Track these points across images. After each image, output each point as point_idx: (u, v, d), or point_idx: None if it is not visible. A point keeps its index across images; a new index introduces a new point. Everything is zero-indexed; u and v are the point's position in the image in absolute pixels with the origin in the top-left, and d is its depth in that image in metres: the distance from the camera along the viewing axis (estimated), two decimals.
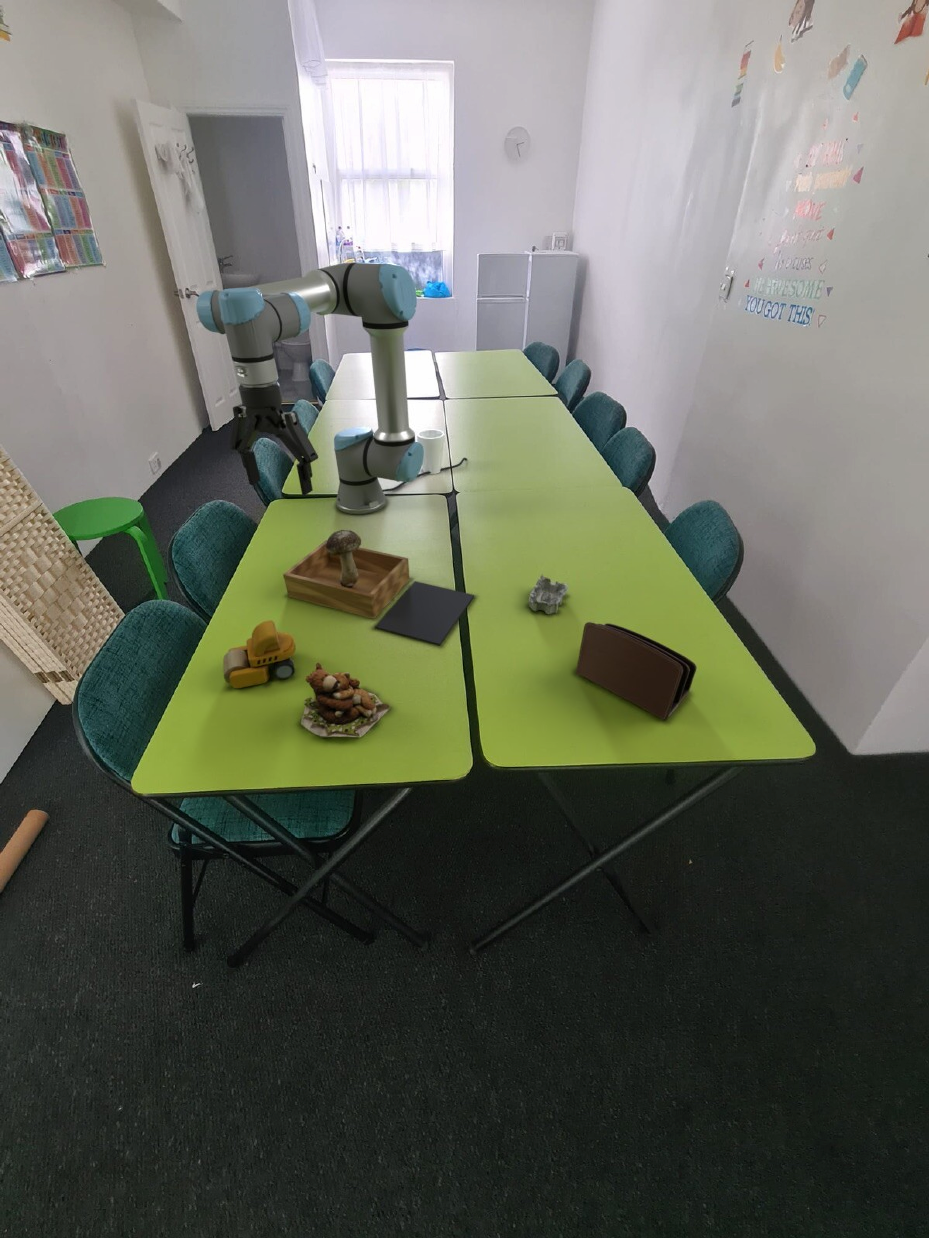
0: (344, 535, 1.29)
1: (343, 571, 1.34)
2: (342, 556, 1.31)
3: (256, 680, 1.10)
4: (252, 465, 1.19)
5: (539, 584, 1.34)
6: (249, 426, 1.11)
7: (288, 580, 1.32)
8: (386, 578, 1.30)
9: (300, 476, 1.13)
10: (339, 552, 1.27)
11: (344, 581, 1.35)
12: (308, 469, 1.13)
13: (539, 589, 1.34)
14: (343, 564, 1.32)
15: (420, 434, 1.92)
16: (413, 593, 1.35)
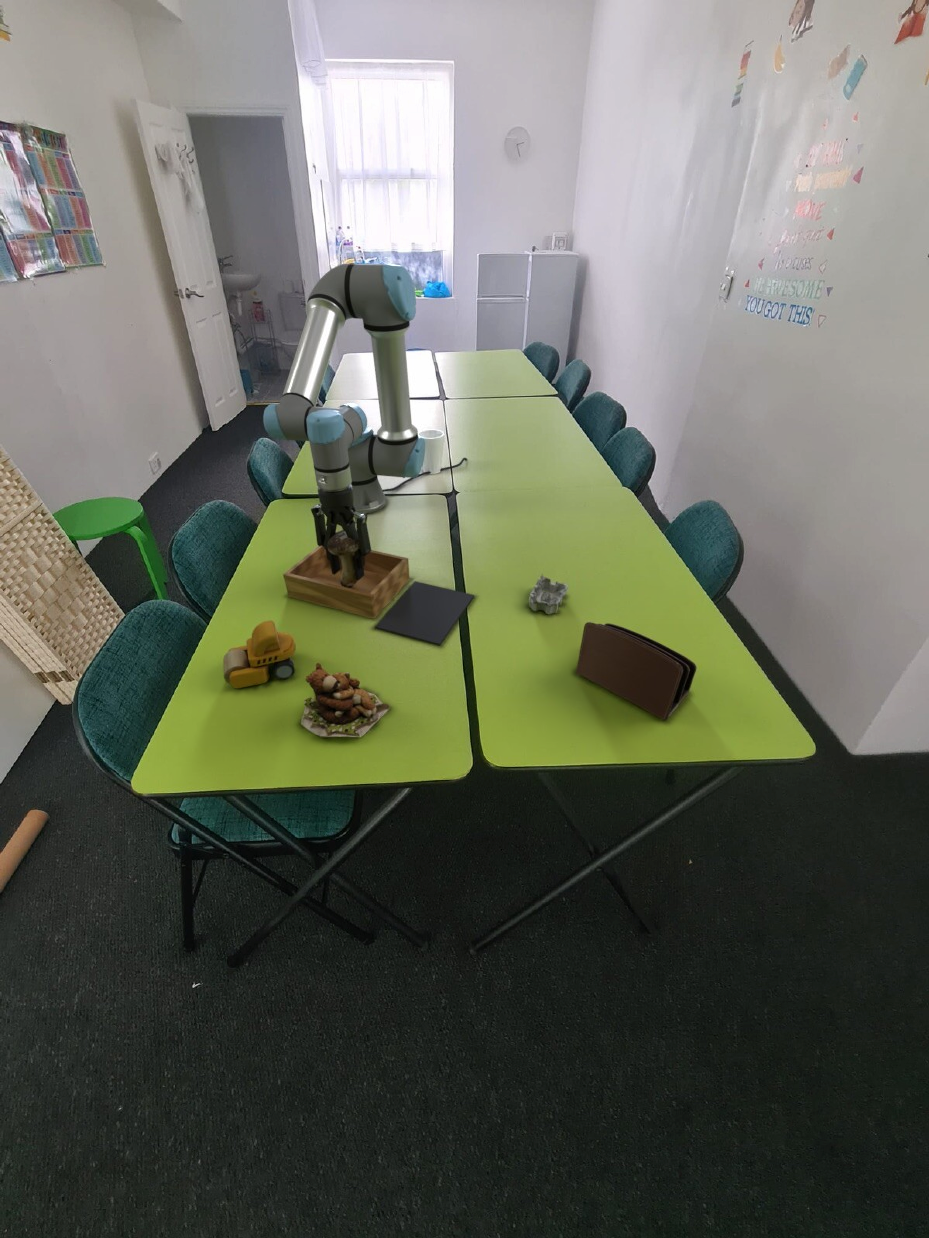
0: (346, 535, 1.28)
1: (344, 571, 1.34)
2: (343, 556, 1.31)
3: (256, 680, 1.10)
4: (335, 558, 1.35)
5: (539, 584, 1.34)
6: (327, 522, 1.27)
7: (288, 580, 1.32)
8: (386, 578, 1.30)
9: (355, 565, 1.32)
10: (341, 553, 1.27)
11: (345, 581, 1.35)
12: (362, 560, 1.31)
13: (539, 589, 1.34)
14: (344, 564, 1.32)
15: (420, 434, 1.92)
16: (413, 593, 1.35)
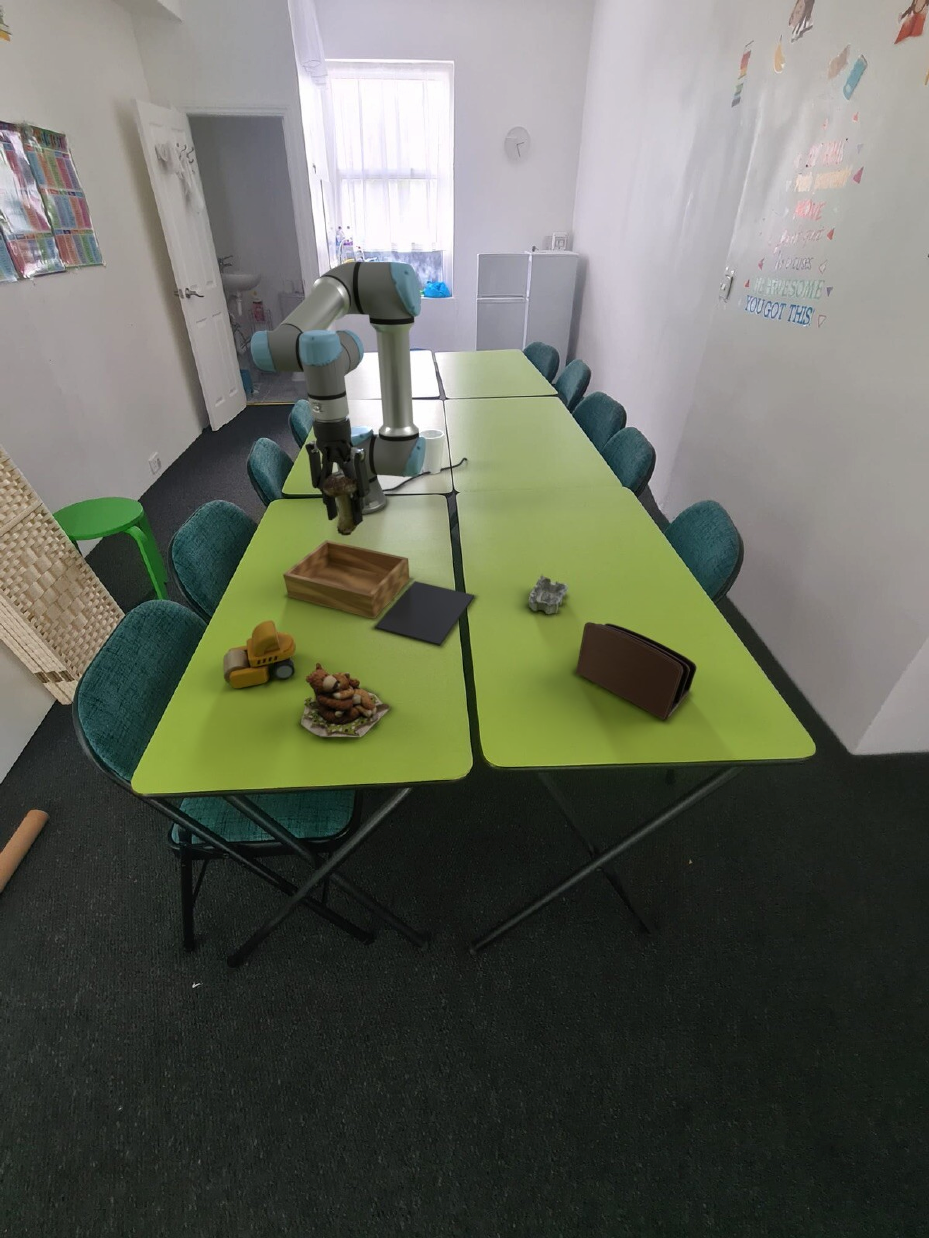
0: (343, 475, 1.19)
1: (341, 516, 1.24)
2: (340, 499, 1.21)
3: (256, 680, 1.10)
4: (332, 502, 1.25)
5: (539, 584, 1.34)
6: (322, 460, 1.17)
7: (288, 580, 1.32)
8: (386, 578, 1.30)
9: (353, 509, 1.22)
10: (337, 493, 1.17)
11: (342, 527, 1.26)
12: (360, 502, 1.22)
13: (539, 589, 1.34)
14: (341, 508, 1.23)
15: (420, 434, 1.92)
16: (413, 593, 1.35)
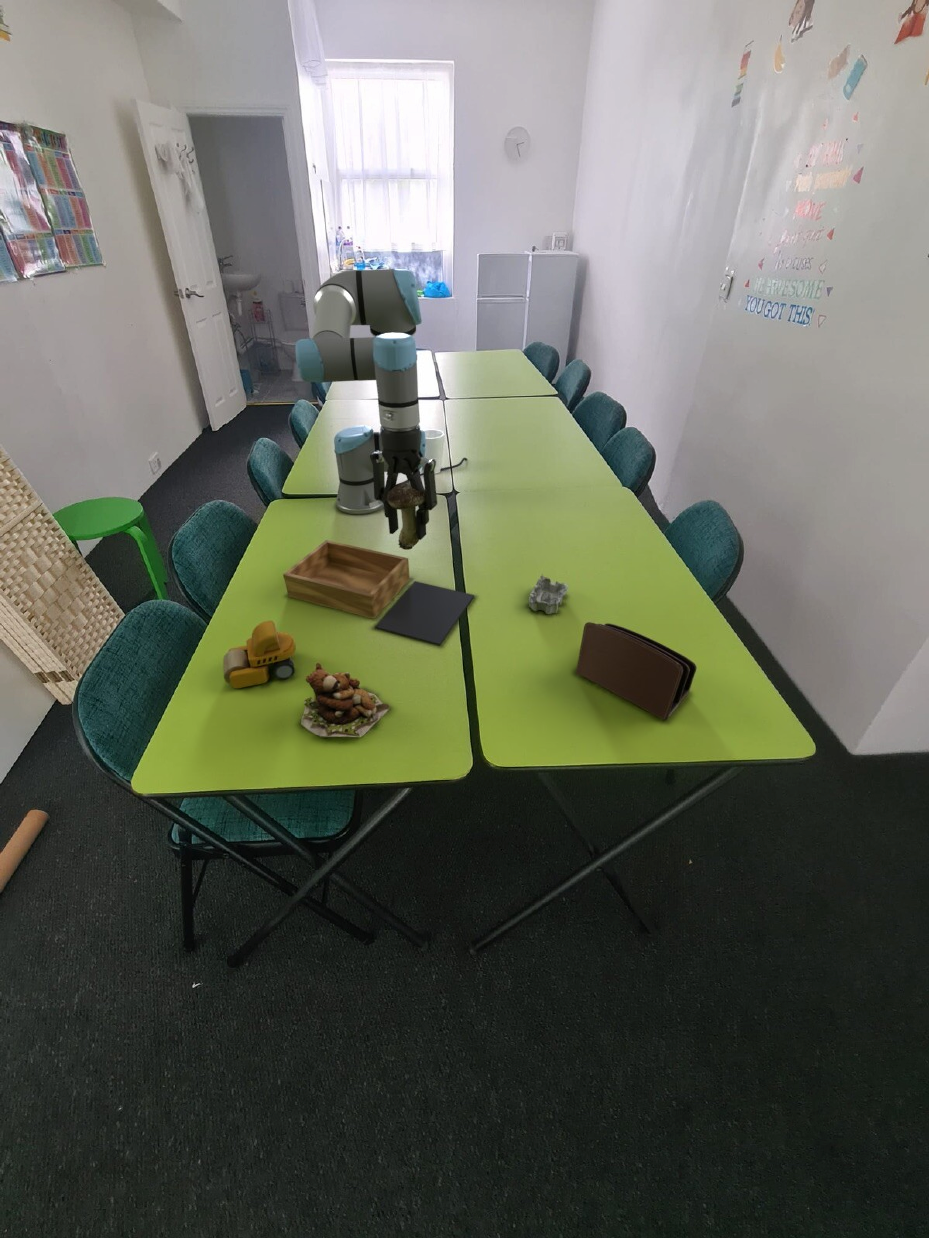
0: (410, 486, 1.12)
1: (404, 529, 1.17)
2: (405, 511, 1.14)
3: (256, 680, 1.10)
4: (394, 515, 1.18)
5: (539, 584, 1.34)
6: (388, 470, 1.10)
7: (288, 580, 1.32)
8: (386, 578, 1.30)
9: (418, 522, 1.15)
10: (404, 506, 1.10)
11: (404, 541, 1.19)
12: (426, 515, 1.15)
13: (539, 589, 1.34)
14: (405, 521, 1.16)
15: None
16: (413, 593, 1.35)
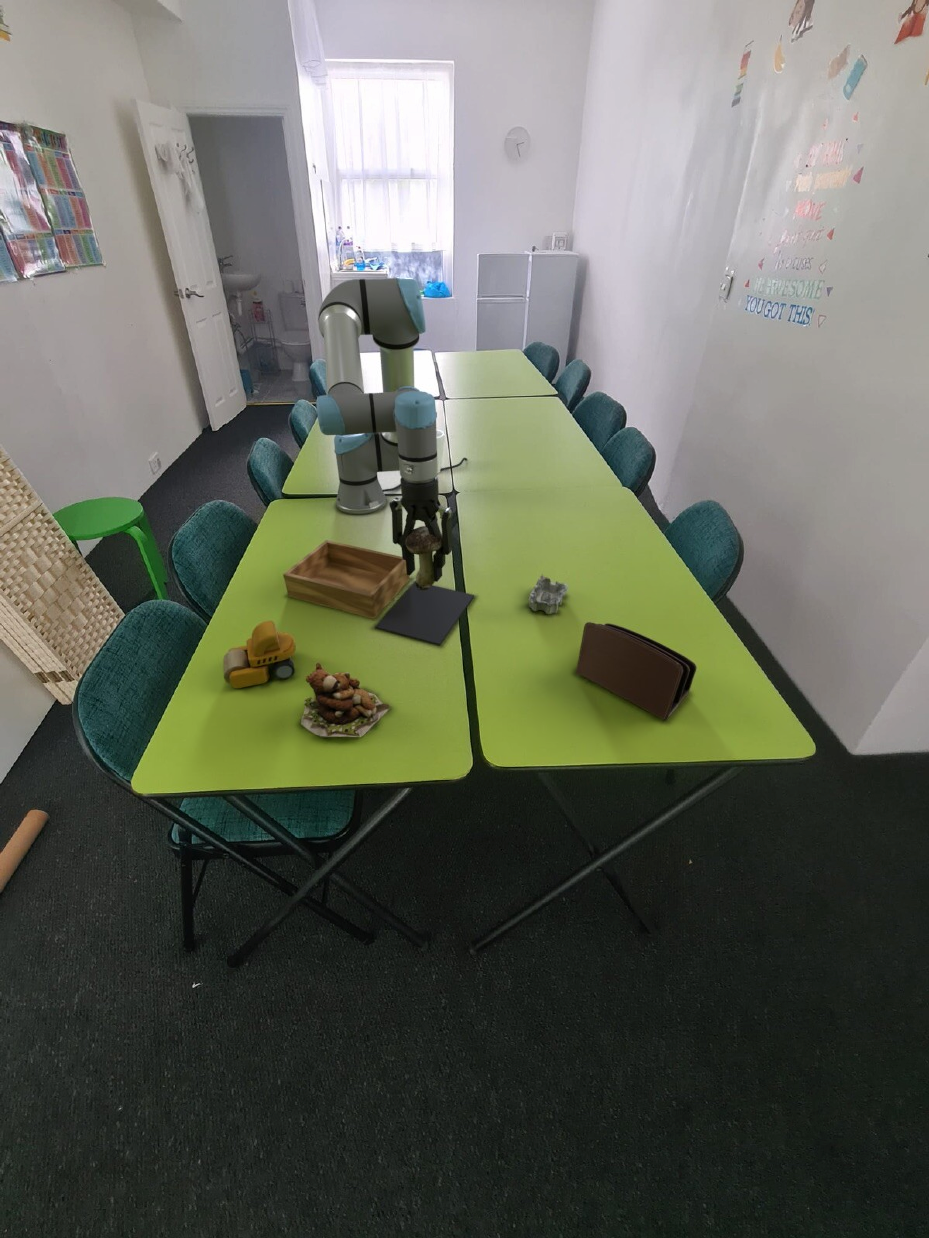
0: (427, 532, 1.16)
1: (421, 572, 1.22)
2: (422, 555, 1.19)
3: (256, 680, 1.10)
4: (411, 557, 1.23)
5: (539, 584, 1.34)
6: (407, 518, 1.15)
7: (288, 580, 1.32)
8: (386, 578, 1.30)
9: (435, 565, 1.20)
10: (422, 551, 1.15)
11: (421, 583, 1.23)
12: (443, 559, 1.19)
13: (539, 589, 1.34)
14: (422, 564, 1.20)
15: None
16: (413, 593, 1.35)
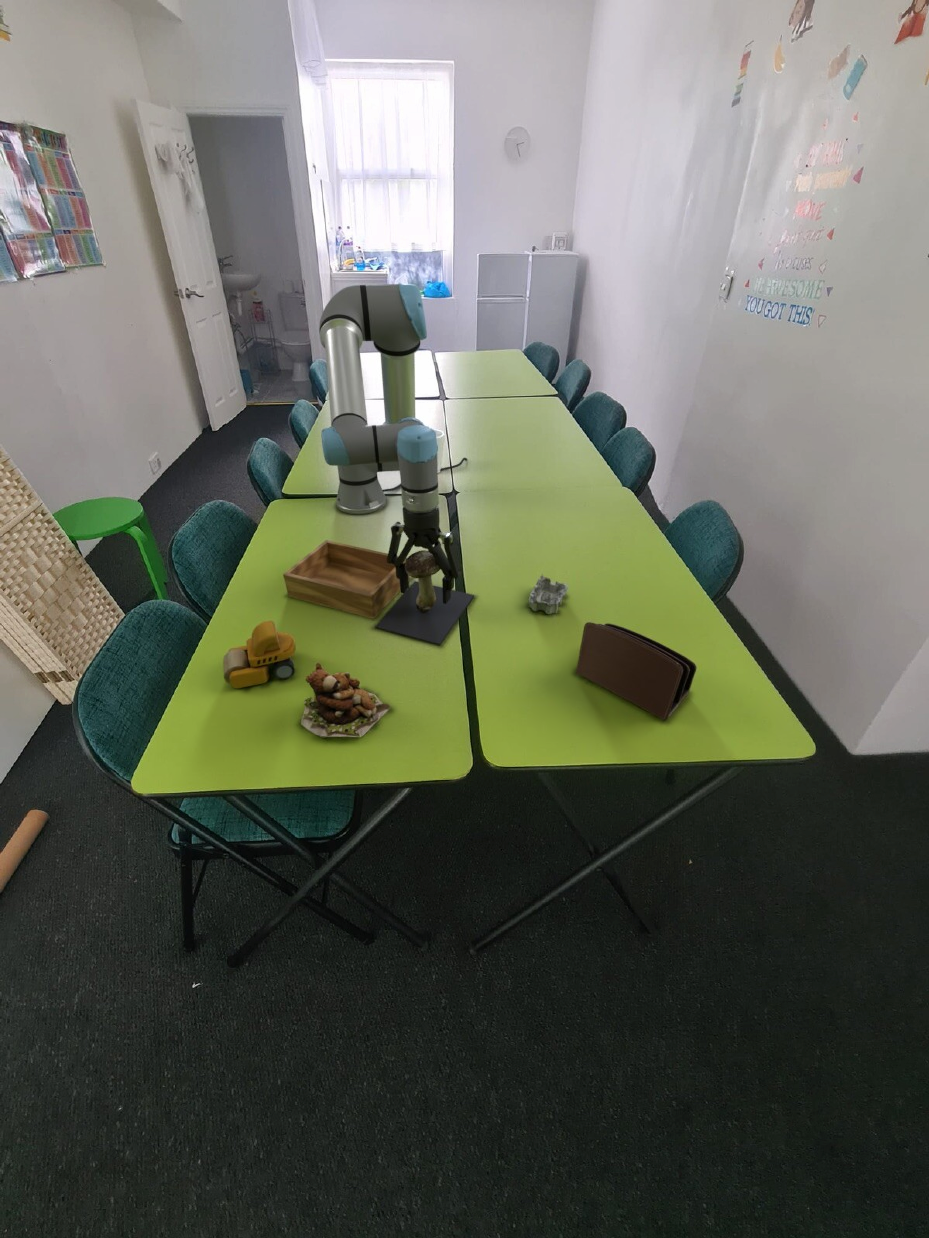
0: (426, 556, 1.20)
1: (421, 594, 1.26)
2: (422, 579, 1.23)
3: (256, 680, 1.10)
4: (405, 576, 1.27)
5: (539, 584, 1.34)
6: (407, 543, 1.19)
7: (288, 580, 1.32)
8: (386, 578, 1.30)
9: (444, 588, 1.22)
10: (421, 575, 1.19)
11: (421, 605, 1.27)
12: (452, 582, 1.22)
13: (539, 589, 1.34)
14: (422, 587, 1.24)
15: None
16: (413, 593, 1.35)
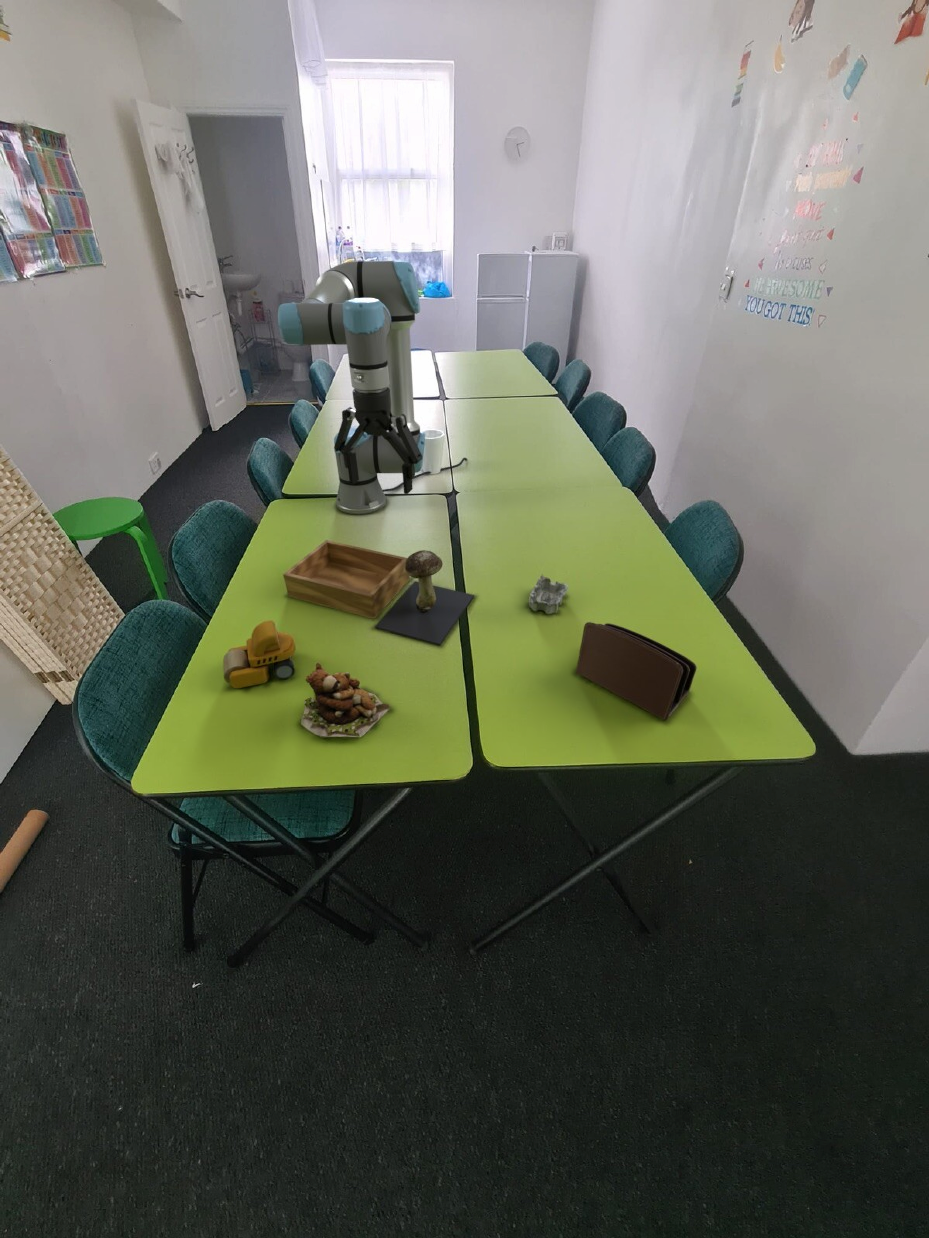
0: (426, 556, 1.20)
1: (421, 594, 1.26)
2: (422, 579, 1.23)
3: (256, 680, 1.10)
4: (353, 465, 1.24)
5: (539, 584, 1.34)
6: (358, 429, 1.16)
7: (288, 580, 1.32)
8: (386, 578, 1.30)
9: (404, 476, 1.19)
10: (421, 575, 1.19)
11: (421, 605, 1.27)
12: (412, 469, 1.19)
13: (539, 589, 1.34)
14: (422, 587, 1.24)
15: None
16: (413, 593, 1.35)
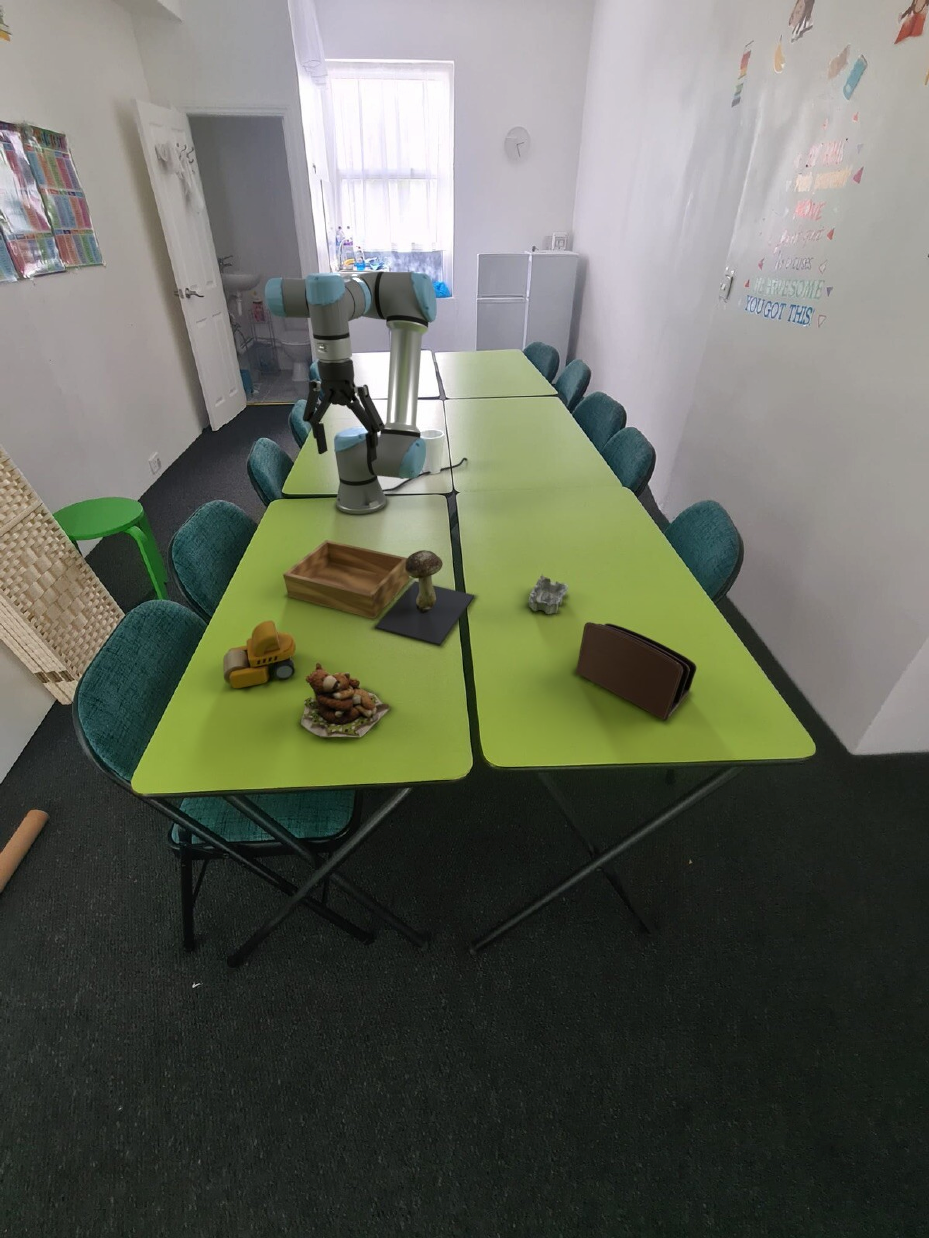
0: (426, 556, 1.20)
1: (421, 594, 1.26)
2: (422, 579, 1.23)
3: (256, 680, 1.10)
4: (321, 436, 1.31)
5: (539, 584, 1.34)
6: (323, 399, 1.23)
7: (288, 580, 1.32)
8: (386, 578, 1.30)
9: (368, 445, 1.26)
10: (421, 575, 1.19)
11: (421, 605, 1.27)
12: (375, 438, 1.25)
13: (539, 589, 1.34)
14: (422, 587, 1.24)
15: None
16: (413, 593, 1.35)
